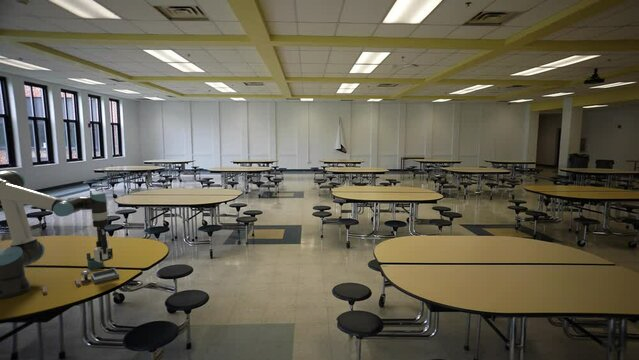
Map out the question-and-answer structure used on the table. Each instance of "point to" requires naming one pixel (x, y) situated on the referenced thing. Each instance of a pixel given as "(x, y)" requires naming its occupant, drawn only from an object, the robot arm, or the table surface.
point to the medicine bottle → (99, 253)
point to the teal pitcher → (93, 262)
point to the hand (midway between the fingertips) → (103, 256)
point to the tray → (104, 275)
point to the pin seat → (75, 281)
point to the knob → (85, 276)
